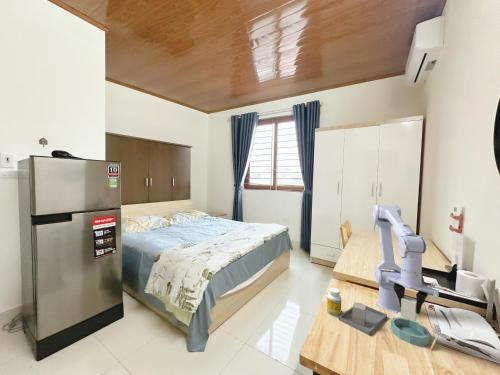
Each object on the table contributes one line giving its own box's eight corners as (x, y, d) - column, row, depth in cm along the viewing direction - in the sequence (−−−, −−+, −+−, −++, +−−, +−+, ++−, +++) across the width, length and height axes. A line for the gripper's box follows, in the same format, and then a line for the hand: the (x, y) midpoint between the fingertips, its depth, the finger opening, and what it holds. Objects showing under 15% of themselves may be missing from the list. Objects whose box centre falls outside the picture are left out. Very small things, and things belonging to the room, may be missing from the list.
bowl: (396, 321, 82) (396, 314, 82) (432, 337, 74) (432, 328, 74) (386, 333, 75) (386, 325, 75) (425, 351, 67) (425, 342, 67)
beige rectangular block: (404, 311, 77) (404, 295, 77) (418, 317, 74) (418, 300, 74) (400, 316, 74) (401, 298, 74) (415, 321, 71) (415, 303, 71)
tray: (358, 305, 92) (358, 302, 92) (386, 318, 84) (386, 314, 84) (338, 320, 82) (338, 316, 82) (369, 336, 73) (369, 332, 73)
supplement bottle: (332, 308, 90) (332, 285, 90) (343, 315, 85) (344, 291, 85) (324, 312, 87) (324, 288, 87) (335, 319, 82) (336, 294, 82)
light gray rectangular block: (354, 317, 83) (354, 302, 83) (365, 321, 81) (366, 305, 81) (352, 322, 80) (352, 306, 80) (364, 326, 78) (364, 310, 78)
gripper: (383, 266, 77) (382, 304, 77) (435, 280, 66) (434, 324, 66) (390, 262, 82) (389, 298, 82) (440, 275, 71) (439, 316, 71)
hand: (410, 309), depth 74 cm, fingers closed on beige rectangular block, 4 cm apart
